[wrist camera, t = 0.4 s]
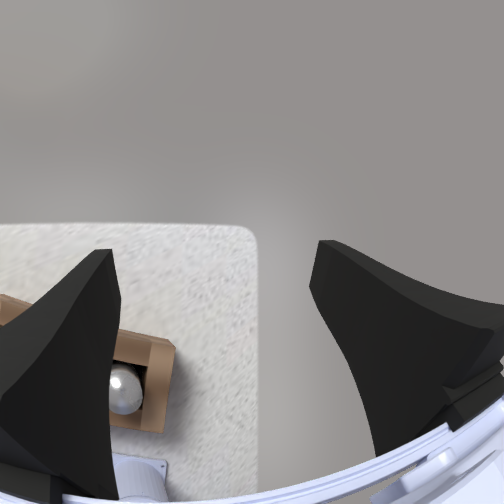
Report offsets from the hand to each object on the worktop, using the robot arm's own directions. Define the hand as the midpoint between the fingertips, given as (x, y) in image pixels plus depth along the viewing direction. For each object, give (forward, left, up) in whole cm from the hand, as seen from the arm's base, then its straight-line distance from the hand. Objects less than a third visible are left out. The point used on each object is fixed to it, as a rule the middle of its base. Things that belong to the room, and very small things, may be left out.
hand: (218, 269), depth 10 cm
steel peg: (-11, +2, -23) cm, 25 cm away
